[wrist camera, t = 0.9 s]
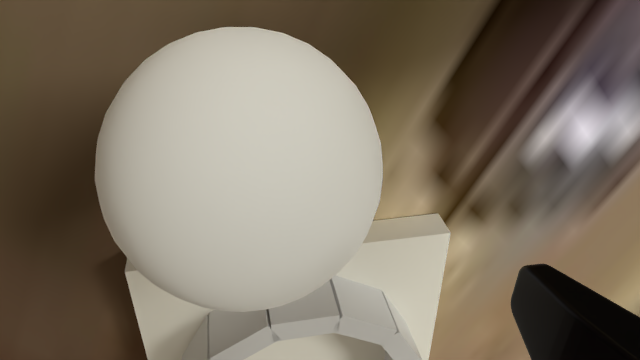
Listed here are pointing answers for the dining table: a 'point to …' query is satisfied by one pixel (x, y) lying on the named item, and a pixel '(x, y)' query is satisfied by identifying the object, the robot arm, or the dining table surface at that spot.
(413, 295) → the socket base
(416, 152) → the dining table surface
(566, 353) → the robot arm
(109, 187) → the light bulb
